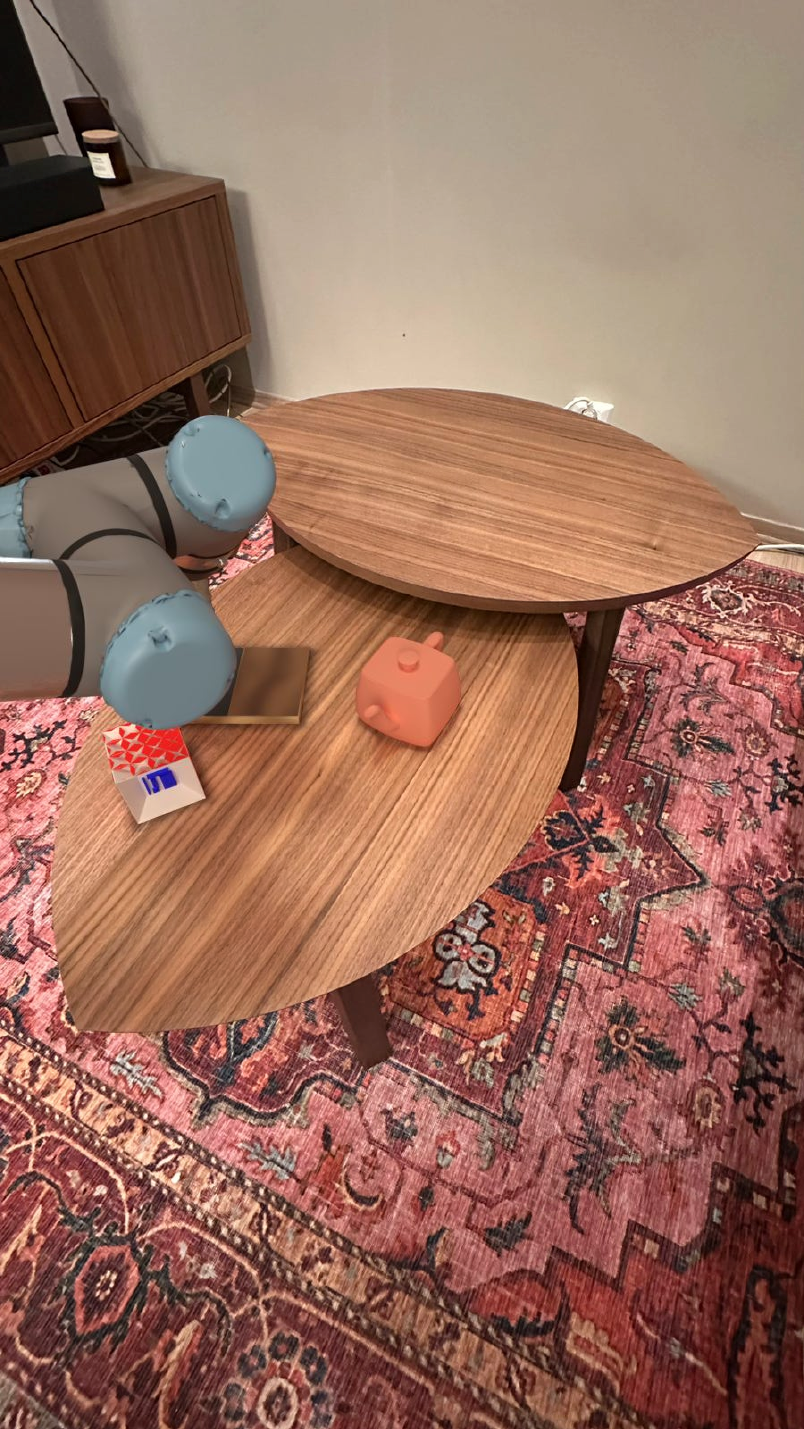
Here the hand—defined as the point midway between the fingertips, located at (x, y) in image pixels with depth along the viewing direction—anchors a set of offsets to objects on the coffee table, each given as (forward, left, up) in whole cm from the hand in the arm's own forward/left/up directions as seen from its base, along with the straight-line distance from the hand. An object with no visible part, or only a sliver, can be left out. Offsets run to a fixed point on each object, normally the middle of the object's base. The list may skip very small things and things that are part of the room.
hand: (162, 587), depth 81 cm
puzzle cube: (-9, -15, -16) cm, 24 cm away
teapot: (+21, -20, -16) cm, 33 cm away
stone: (+1, -3, -4) cm, 5 cm away
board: (+5, -4, -16) cm, 17 cm away
